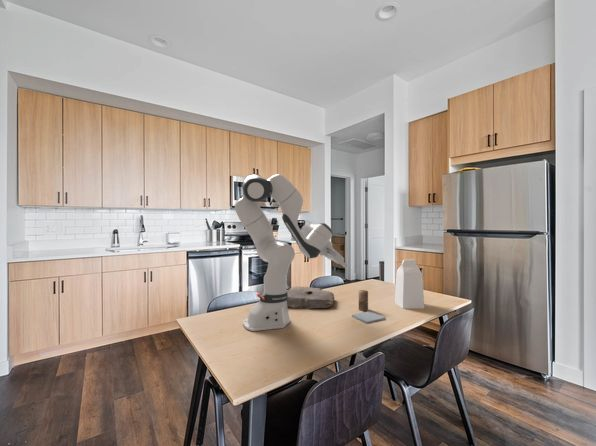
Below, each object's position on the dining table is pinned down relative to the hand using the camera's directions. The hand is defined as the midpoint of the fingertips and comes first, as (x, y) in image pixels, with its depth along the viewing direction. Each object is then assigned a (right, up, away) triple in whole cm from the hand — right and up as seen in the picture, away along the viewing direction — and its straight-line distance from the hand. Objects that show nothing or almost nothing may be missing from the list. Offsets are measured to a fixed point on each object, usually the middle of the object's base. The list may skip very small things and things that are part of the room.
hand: (342, 265), depth 146 cm
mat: (+12, -25, -9) cm, 29 cm away
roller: (+12, -25, +3) cm, 28 cm away
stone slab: (-17, -25, +20) cm, 37 cm away
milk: (+40, -25, +10) cm, 48 cm away
